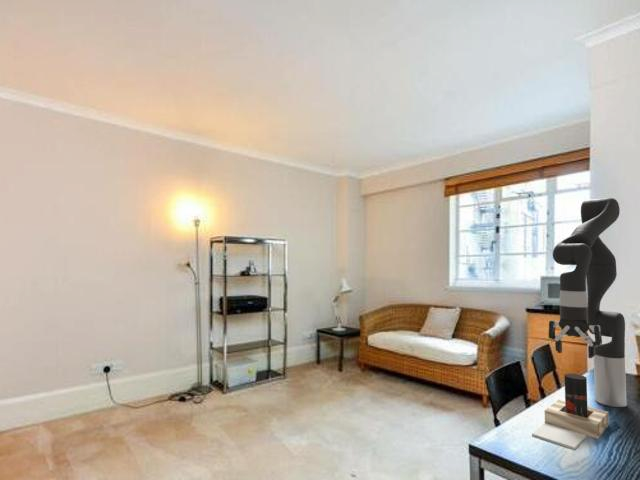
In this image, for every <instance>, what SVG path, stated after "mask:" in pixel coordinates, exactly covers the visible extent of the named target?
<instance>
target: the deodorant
mask: <svg viewBox="0 0 640 480" xmlns="http://www.w3.org/2000/svg"><path fill="white" fill-rule="evenodd" d="M587 380H588V379H587V377H586V376H584V375H581V374H577V373H565V374H564V401H565V410H566V413H570V414H573V415H577V416H581V417H584V418H588V407H589V406H588V382H587Z"/></svg>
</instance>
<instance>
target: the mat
mask: <svg viewBox="0 0 640 480" xmlns="http://www.w3.org/2000/svg"><path fill="white" fill-rule="evenodd" d="M531 436H532V437H534V438H537V439H538V438H539V439H541V440H545V441H547V442H550V443H553V444H556V445H560V446H563V447H566V448H569V449H571V450H573V451H574V450H576V449H577V448H578V447H579V446H580V445H581V443H583V442H584V440H585V439H586V438H587V435H584V434H581V433H577V432H574V431H570V430H567V429H564V428H560V427H557V426H554V425H550V424H547V423H545V422H544V423H543V424H542V425H540V426H539V427H538V428H537V429H536V430H534V431H533V432H532V433H531Z"/></svg>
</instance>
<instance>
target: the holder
mask: <svg viewBox="0 0 640 480" xmlns="http://www.w3.org/2000/svg"><path fill="white" fill-rule="evenodd" d="M587 407H588V418H584V417H581V416H577V415H573V414H570V413H566V410H565V400H562V399H558V400H556V401H555V402H554V403H552V404H551V405H550V406H548V407H547V408H545V410H544V423H547V424H550V425H554V426H557V427H560V428H564V429H567V430H570V431H574V432H577V433H581V434H584V435H586V437H587V436H588V437H591V438H594V439H599V438H600V437H601V435H602V434H603V433H604V431H605V430H607V428H608V427H609V426H610V415H609V414H610V412H609V411H606V410H602V409H600V408H599V409H598V408H594V407H591V406H587Z"/></svg>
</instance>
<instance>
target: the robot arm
mask: <svg viewBox="0 0 640 480" xmlns="http://www.w3.org/2000/svg"><path fill="white" fill-rule="evenodd" d="M619 216H620V205H619V202H618V200H617V199H615V198H613V197H605V198H604V197H603V198H593V199H586V200H583V201H582V203H581V204H580V218H581V219H580V220H581V224H580V225H578V226H577V227H576V228H575V229H574V230H573V231H572V233H571V234H570V235H569V236H568V237H566V238H564V239H563V240H561V241H560V242H558V243H557V244H556V245H555V247H554V248H553V250H552V259H553V260H554V262H555V263H556V264H559V265H562V266H575V268H574V270H572V271H566V272H562V273H561V274H560V275H559V289H560V291H559V300H558V302H559V321H558V320H555V319H551V320H550V321H549V322H548V338H549V339H550V340H553V341H554V345H555V347H554V348H555V351H556V352H557V353H558V354H561V353H563V341H562V339H563V338H564V337H566V335H567V336H568V337H575V338H582V340H583V341H584V342H586V344H587V345H588V346H587V351H588V352H587V353H588V354H587V355H588V356H587V357H588V359H593V376H594V377H593V378H594V401H596V402H597V403H599V404H600V405H604V406H608V407H615V408H626V407H627V405H628V404H627V403H628V402H627V384H626V383H627V381H626V379H627V377H626V376H627V375H626V358H625V357H626V354H625V353H626V352H625V350H626V348H625V347H626V346H625V345H626V343H625V341H626V338H625V337H626V321H625V320H626V319H625V317H624V315H623V314H622V313H621V312H616V311H606V310H601V309H600V306H601V302H602V299H603V298H604V295H605V294H606V293H607V291H608V290H609V289H610V287H611V286H612V285H613V284H614V282H615V281H616V278H617V260H616V257H615V255H614V254H613V252H612V250H611V249H609V247H608V245H606V244H605V243H604V242H603V240H602V239H601V237H600V235H601V234H603V233H604V232H605V231H606V230H607V229H608V228H609V227H611V226H612V225H614V224H615V222H616V221H617V220H618V219H619ZM558 326H559V328H560V329H561V331H560V332H559V333H558V334H557V335H556V328H557V327H558ZM588 332H589V333H590V334H589V333H588ZM590 335H594V340H593V339H592V337H591V336H590ZM603 337H607V338H611V340H610V341H609V342H607V343H603Z"/></svg>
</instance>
